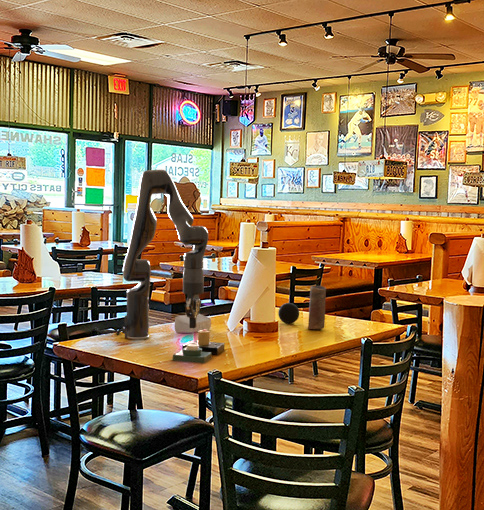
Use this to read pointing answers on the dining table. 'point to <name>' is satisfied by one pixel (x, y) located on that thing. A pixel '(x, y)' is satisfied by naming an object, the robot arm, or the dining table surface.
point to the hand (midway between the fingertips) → (192, 327)
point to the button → (192, 347)
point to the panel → (208, 347)
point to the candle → (317, 307)
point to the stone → (183, 324)
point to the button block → (192, 356)
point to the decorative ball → (288, 313)
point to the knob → (203, 337)
